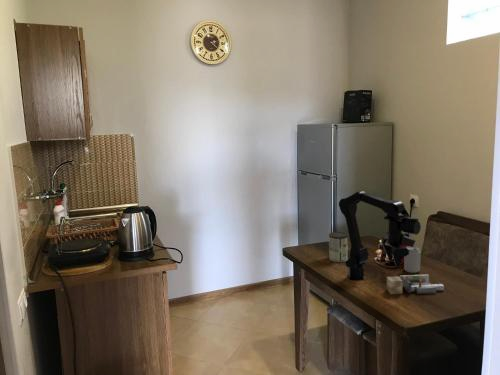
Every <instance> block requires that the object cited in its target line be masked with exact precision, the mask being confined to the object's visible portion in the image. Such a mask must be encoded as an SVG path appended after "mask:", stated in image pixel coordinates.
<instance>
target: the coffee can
mask: <svg viewBox="0 0 500 375" xmlns="http://www.w3.org/2000/svg"><path fill="white" fill-rule="evenodd" d="M348 237H349V233H347V232H345V231H344V232H343V231H333V232H329V233H328V248H329V249H328V256H329V257H328V259H329V260H330V261H331V262H335V263H343V262H346V261H347V260H348V259H349V257H348V256H349V254H348V253H349V251H348V250H349V246H348V245H349V244H348V243H349V238H348Z"/></svg>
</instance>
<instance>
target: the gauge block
mask: <svg viewBox="0 0 500 375" xmlns="http://www.w3.org/2000/svg"><path fill="white" fill-rule="evenodd" d="M386 290H387V291H388V293H389V294H390V295H402V294H403V287H402V280H401V279H400V276H386Z"/></svg>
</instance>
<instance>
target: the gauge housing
mask: <svg viewBox="0 0 500 375" xmlns="http://www.w3.org/2000/svg"><path fill="white" fill-rule="evenodd" d="M399 278H400V279H401V280H402V288H404V279H408V280H409V281H410V282H411V285H419V280H422V285H425V284H432V283H431V282H430V275H429V274H408V275H406V274H405V275H404V274H403V275H399ZM415 292H416V293H417V295H419V294H420V295H421V294H437V290H436V287H435V286H430V287H416V291H415Z"/></svg>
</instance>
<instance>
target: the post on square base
mask: <svg viewBox="0 0 500 375" xmlns="http://www.w3.org/2000/svg"><path fill="white" fill-rule="evenodd" d="M430 286H435V287H436V291H444V290H445V286H444V284H443V283H431V284H425V285H422V280H419V285H411V282H410V281H409V280H408V279H404V287H403V289H404V290H405V291H406V292H407V293H409V294H411V293H412V292H416V287H430Z"/></svg>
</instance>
